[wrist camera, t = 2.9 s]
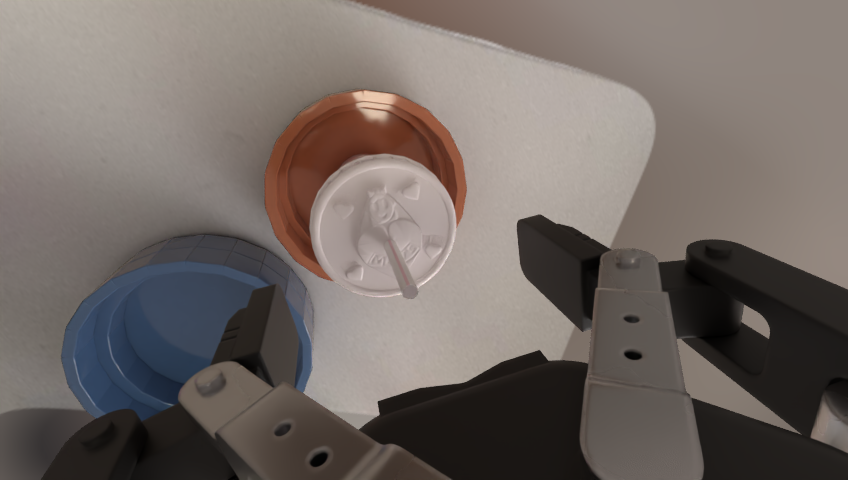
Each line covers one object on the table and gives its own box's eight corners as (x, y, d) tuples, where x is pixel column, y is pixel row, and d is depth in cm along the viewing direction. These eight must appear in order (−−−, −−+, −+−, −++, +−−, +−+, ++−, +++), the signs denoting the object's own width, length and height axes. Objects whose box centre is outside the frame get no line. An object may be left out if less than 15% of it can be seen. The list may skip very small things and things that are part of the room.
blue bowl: (158, 420, 29) (131, 476, 25) (61, 262, 23) (6, 300, 19) (334, 367, 30) (336, 410, 26) (280, 210, 25) (272, 234, 21)
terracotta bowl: (303, 278, 27) (301, 308, 24) (245, 110, 23) (231, 115, 19) (457, 237, 29) (477, 259, 25) (431, 73, 25) (450, 71, 21)
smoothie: (330, 240, 27) (339, 383, 14) (298, 145, 24) (273, 214, 11) (422, 214, 27) (508, 326, 15) (400, 120, 25) (483, 157, 12)
